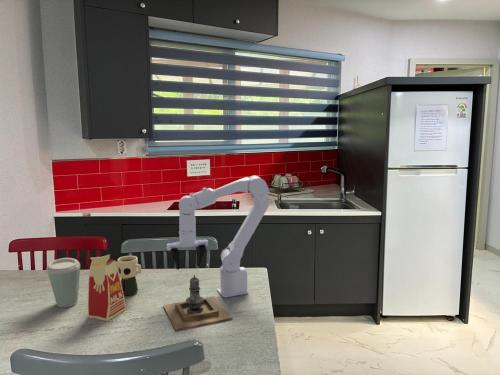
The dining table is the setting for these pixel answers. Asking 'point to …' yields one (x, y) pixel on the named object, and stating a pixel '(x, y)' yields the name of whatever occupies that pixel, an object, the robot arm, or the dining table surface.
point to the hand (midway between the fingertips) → (188, 267)
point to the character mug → (128, 273)
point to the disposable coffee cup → (64, 280)
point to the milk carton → (105, 289)
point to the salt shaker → (194, 297)
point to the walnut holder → (186, 320)
